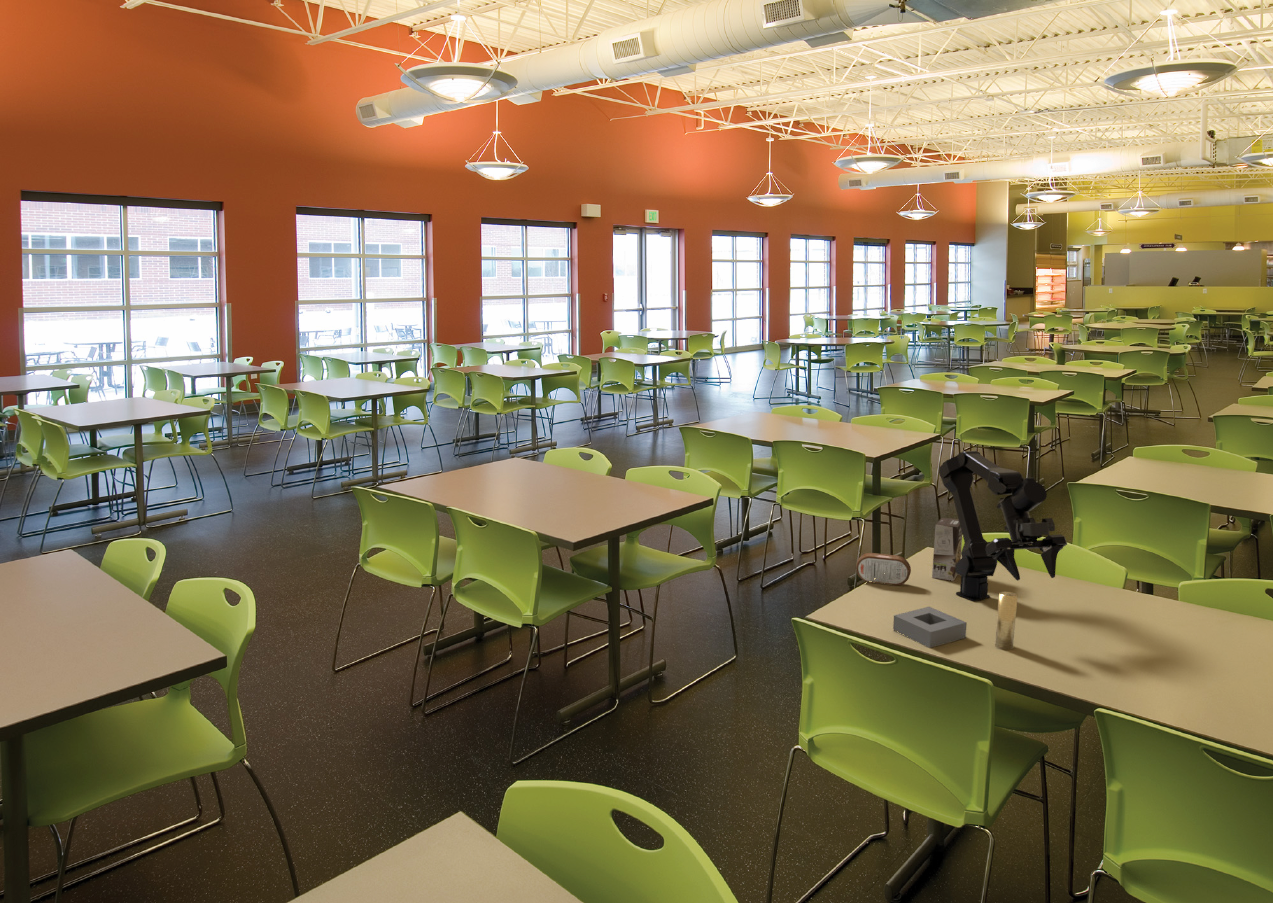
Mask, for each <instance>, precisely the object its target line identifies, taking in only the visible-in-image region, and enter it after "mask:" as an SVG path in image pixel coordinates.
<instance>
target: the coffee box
mask: <svg viewBox="0 0 1273 903" xmlns="http://www.w3.org/2000/svg"><path fill="white" fill-rule="evenodd" d="M934 529H935V530H934V540H933V541H934V543H933V557H932V568H931V569H932V572H931V578H935V579H940V580H946V581H950V580H951V582H954V581H955V579H956V578H957V577H958V575H959V574H957V573H956V567H955V565H956V564H957V563H958V562H959V561H960V560H961V559H962V555H961V552H962V549H963V544H962V543H963V534H962V530H961V526H960V522H959V519H958V518H952V517H951V518H947V517H941V518H940V519H939V520H938V522H936V523H935V527H934Z"/></svg>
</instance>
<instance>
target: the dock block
mask: <svg viewBox="0 0 1273 903" xmlns="http://www.w3.org/2000/svg"><path fill="white" fill-rule="evenodd" d="M967 626H968V625H967V621H964V620H962V619H960V618H957V617H955V616H952V615H950V614H948V613H945V612H942V611H941V610H939V609H936V608H933V607H932V606H926V607H922V608H918V609H914V610H910V611H906V612H901V613H897V614H895V615H893V625H892V627H893V628H892V630H893V629H894V630H895V631H898V632H899V633H901V634H900V635H902V634H904V635H905V636H904V635H903V636H904V637H906V636H908V637H909V638H908V637H907V638H908V639H910V638H911V639H910V640H912V639H913V640H912V641H914V640H915V641H914V642H916V641H917V643H918V642H919V643H918V644H921V645H923V646H925V647H926V648H929V649H930V648H934V647H938V646H942V645H944V644H949V643H951V642H955V641H956V642H957V641H959V640H963V639H966V638H967V637H966V636H967ZM895 631H894V632H895ZM899 633H898V634H899Z"/></svg>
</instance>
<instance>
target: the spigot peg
mask: <svg viewBox="0 0 1273 903" xmlns="http://www.w3.org/2000/svg"><path fill="white" fill-rule="evenodd" d="M997 604H998V605H997V615H996V616H997V617H996V626H995V628H996V629H995V641H994V642H995V643H994V647H995V648H997V649H999V650H1003V651H1010V650H1013V649H1014V642H1015V629H1016V619H1017V617H1016V616H1017V608H1018V607H1017V606H1018V594H1017V593H1014V592H1012V591H1000V592H999V593H998V603H997Z"/></svg>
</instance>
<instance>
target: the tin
mask: <svg viewBox="0 0 1273 903" xmlns="http://www.w3.org/2000/svg"><path fill="white" fill-rule="evenodd" d="M855 566H856V567H855V569H856V574H857V576H858V577H859V578H860V579H861V580H862V581H864V582H866V583H869V581H872V582H871V583H872V584H878V583H883V584H882V585H887V584H893V585H892V586H901V585H903V584H904V585H905V583H906V582H907V581H908V580H909V578H910V575H911V574H912V573H911V572H912V568H911V565H910V563H909V561H908V560H907V559H906V558H905V557H902V556H900V555H897V554H896V555H893V554H884V553H876V552H875V553H874V552H867V553H864V554H862V555H860V557H858V559H857V561H856V565H855ZM884 573H885V574H884ZM874 578H876V579H875V580H874ZM873 582H875V583H873ZM871 583H870V584H871ZM884 583H885V584H884Z"/></svg>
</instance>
